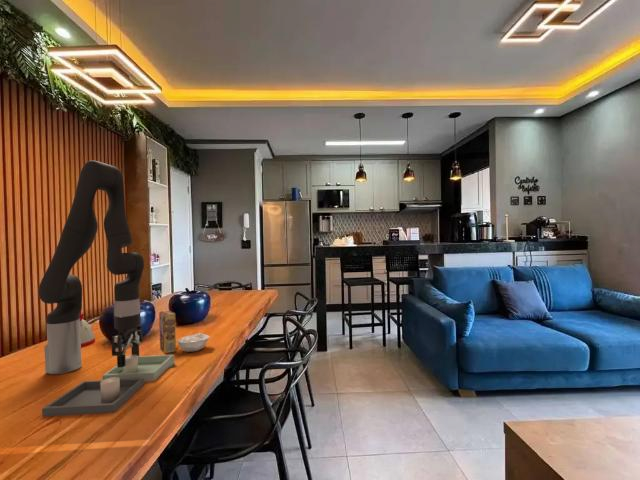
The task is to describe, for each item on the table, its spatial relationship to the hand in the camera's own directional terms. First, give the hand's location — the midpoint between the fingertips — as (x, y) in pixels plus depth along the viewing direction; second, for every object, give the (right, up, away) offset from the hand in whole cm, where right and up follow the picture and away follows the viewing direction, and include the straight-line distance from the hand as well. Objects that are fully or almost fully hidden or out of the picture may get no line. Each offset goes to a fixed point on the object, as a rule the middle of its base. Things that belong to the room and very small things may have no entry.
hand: (128, 361), depth 109 cm
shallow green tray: (+4, -5, 0) cm, 6 cm away
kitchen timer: (-44, -6, +35) cm, 56 cm away
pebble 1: (+5, -4, -18) cm, 19 cm away
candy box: (+2, -5, +24) cm, 25 cm away
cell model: (+13, -4, +23) cm, 27 cm away
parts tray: (+2, -5, -18) cm, 18 cm away
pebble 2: (0, -4, 0) cm, 4 cm away
